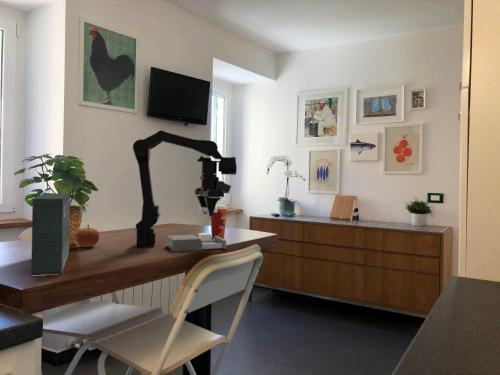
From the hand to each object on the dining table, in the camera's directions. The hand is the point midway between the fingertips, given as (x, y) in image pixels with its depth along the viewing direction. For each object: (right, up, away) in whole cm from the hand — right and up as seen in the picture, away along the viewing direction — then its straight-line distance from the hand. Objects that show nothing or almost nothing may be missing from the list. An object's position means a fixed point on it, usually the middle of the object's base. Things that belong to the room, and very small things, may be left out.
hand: (208, 214), depth 155 cm
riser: (-2, -12, +8) cm, 15 cm away
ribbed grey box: (-41, -12, -38) cm, 57 cm away
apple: (-43, -11, -9) cm, 45 cm away
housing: (-8, -12, -5) cm, 15 cm away
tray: (0, -12, -2) cm, 12 cm away
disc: (0, +1, 0) cm, 1 cm away
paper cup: (+2, -12, +24) cm, 27 cm away
